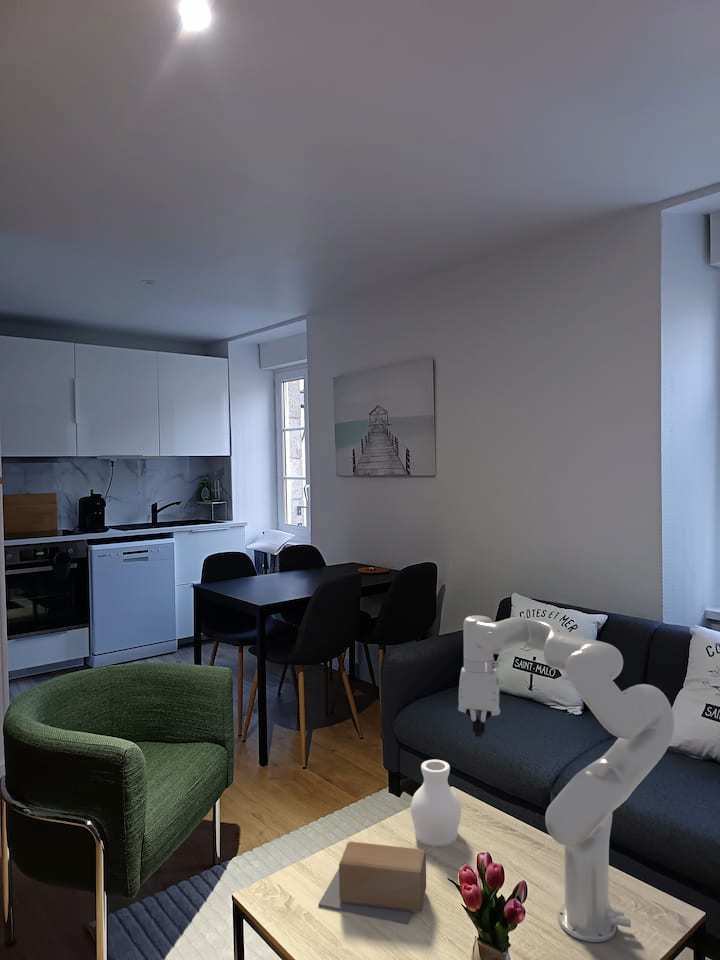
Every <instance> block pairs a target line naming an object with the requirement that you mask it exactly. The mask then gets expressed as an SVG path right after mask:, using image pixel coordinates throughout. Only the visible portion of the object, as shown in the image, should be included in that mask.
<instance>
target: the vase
mask: <svg viewBox="0 0 720 960" xmlns="http://www.w3.org/2000/svg"><path fill="white" fill-rule="evenodd" d="M420 770H421V773H422V776H423V782H422V785H420V787H418V789H417V790H416V791H415V792H414V794H413V797H412V799H411V800H412V801H411V802H410V814H411V817H412V818H411V819H412V823H413V828H414V835H415V838H416V840H417V841H418V842H420V843H421V844H423V845H426V846H428V847H435V848H441V847H442V848H443V847H447V846H450V845H453V844H454V843H455V842H456V841H457V839H458V833H459V832H458V831H459V827H460V822H461V816H462V803H461V800H460V798H459V797H458V795H457V794H456V792H455V791H454V790H453V788H452V787H450V785H449V782H448V777H449V775H450V771H451V766H450V764H449V763H448V762H447V761H445V760H440V759H428V760H425V761H424V762H422V763H421V765H420Z"/></svg>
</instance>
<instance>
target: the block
mask: <svg viewBox="0 0 720 960" xmlns="http://www.w3.org/2000/svg"><path fill="white" fill-rule="evenodd" d="M338 869H339V895H340V901H341V902H344V903H352V904H360V905H368V906H376V907H383V908H391V909H399V910H407V911H413V912H416V913H419V912H421V911H422V910H423V905H424V900H425V895H426V890H427V853H426V851H425V849H423V848H413V847H404V846H395V845H393V846H392V845H385V844H376V843H375V844H374V843H367V842H357V841H349V842H347V844H346V846H345V849H344V851H343V854H342V856H341V858H340V861H339V864H338Z"/></svg>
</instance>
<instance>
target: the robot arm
mask: <svg viewBox="0 0 720 960" xmlns="http://www.w3.org/2000/svg"><path fill="white" fill-rule="evenodd" d="M462 625H463V666H462V667H461V670H460V675H459V681H458V682H459V683H458V684H459V685H458V706H457V710H458V711H459V712H461V713H464V714H467V716H468V717H469V718H470V719H471V721H472V733H474V736H475V738H478V737H479V738H482V737H483V734H485V733H486V721H487V720H488V719H489V718H490V717H491V716H492V717H494V716H499V715H500V714H501V709H500V700H501V699H500V686H499V685H500V684H499V677H498V672H497V669H496V668H499V667H500V661H495V658H494V655H502V654H505V653H507V652H511V651H513V650H515V649H519V648H528V649H532V650H536V651H539V652H542V653H543V658H544V661H545V664H546V665H547V666H548V667H550V668H552V669H554V670H559V671H562V672H565V674H566V676H567V679H568V681H569V682H570V684H571V685H572V687H573V689H574V690H575V692H576V693H577V694H578V695H579V697H580V699H582V702H584V703H585V705H586V706H587V707H588V709H590V711H591V713H593V716H594V717H595V718H596V719H597V720H598V722H599V723H600V724H601V726H603V728H604V729H606V731H608V733H610V734H612V735H613V736H614V737H617V739H616V741H615V742H614V743H613V745H612V746H610V747H609V749H608V750H607V751H606V752H605V753H604V754H603V755H602V756H601V757H599V758H598V759H596V760H595V761H593V762H591V763H590V764H588V765H587V766H586V767H584V768H582V769H581V770H580V771H578V773H576V774H575V775H574V776H573V777H572V778H571V779H570V781H568V782H567V784H566V785H565V786H564V787H563V788H562V789H561V791H560V792H559V793H558V794H557V795H556V797H554V799H553V800H552V801H551V802H550V804H549V805H548V807H547V809H546V812H545V816H544V818H545V819H544V820H545V827H546V829H547V833H548V834H549V836H550V837H551V838H552V839H553V841H555V842H556V843H557V844H559V845H561V846H563V847H564V904H562V905H560V907H559V908H558V911H557V920H558V923H559V925H560V927H561V928H562V929H563V930H564V931H565V932H566V933H567V934H569V935H570V936H572V937H573V938H576V939H578V940H580V941H584V942H589V943H600V942H606V941H608V940H610V939H613V937H614V936H615V934H616V933H617V932H616V931H617V926H620V927H621V926H622V927H624V928H625V927H626V928H631V927H632V926H631V925H632V924H631V923H632V922H631V917H628V916H625V911H624V910H621V909H614V907H611V902H610V899H609V898H610V895H609V894H610V892H609V888H610V887H609V886H610V885H609V884H610V883H609V880H610V879H609V871H610V870H609V868H610V865H609V859H610V858H609V857H610V856H609V855H610V854H609V853H610V851H609V850H610V836H611V828H612V822H613V812H614V811H615V810H616V809H617V808H618V807H620V806H621V805H622V804H623V803H624V802H626V801H627V800H628V799H629V798H630V796H631V795H632V793H633V792H634V790H635V789H636V788H637V786H638V785H640V783H641V782H643V780H644V779H645V778H646V777H647V776H648V774H649V773H650V772H651V771H652V769H653V768H655V766H656V765H657V764H658V763H659V761H660V760H661V759H662V757H664V755H665V753H666V752H667V750H668V748H669V747H670V744H671V742H672V739H673V736H674V731H675V718H674V711H673V709H672V706H671V703H670V702H669V699H668V697H667V696H666V695H665V694H664V692H663V691H661V690H660V688H658V687H656V686H654V685H653V684H652V685H651V684H646V683H641V684H635V685H633V686H629V687H628V688H626V689H624V690H621V689H620V688H619V686H618V685H617V684H616V683H615V681H613V680H615V679H616V678H617V677H618V676H620V674H621V672H622V671H623V667H624V658H623V655H622V653H621V651H620V650H619V649H618V648H617V647H615V646H614V645H612V644H610V643H607V642H604V641H600V640H595V639H593V638H592V639H591V638H586V637H583V636H579V635H576V634H575V635H574V634H570V633H567V632H561V631H559V630H557V629H556V628H554V627H553V626H551V625H550V624H549V623H546V622H544V621H539V620H535V619H531V618H527V617H524V616H513V617H509V618H505V619H503V620H499V621H494V622H493V620H492V619H491V618H490V617H488V616H486V615H485V616H484V615H469V616H467V617H466V618H464V620H463V624H462ZM478 711H481V713H480V714H481V715H480V716H478Z"/></svg>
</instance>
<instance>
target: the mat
mask: <svg viewBox="0 0 720 960" xmlns="http://www.w3.org/2000/svg"><path fill="white" fill-rule="evenodd" d="M323 893H324V894H323V895H322V898H321V899H320V900H319V902H318V907H319V908H324V909H329V910H334V911H339V912H343V913H349V914H354V915H359V916H363V917H368V918H373V919H379V920H383V921H387V922H392V923H398V924H403V925H409V923H410V921H411V917H412V915H413V912H414V911H407V910H399V909H391V908H383V907H376V906H368V905H360V904H352V903H344V902H341V901H340V895H339V868H338V869H337V870H336V872H335V874H334V876H333V877H332V879H331V881H330V883H329V885H328V886H327V888H326V890H325V891H324V892H323Z"/></svg>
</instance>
